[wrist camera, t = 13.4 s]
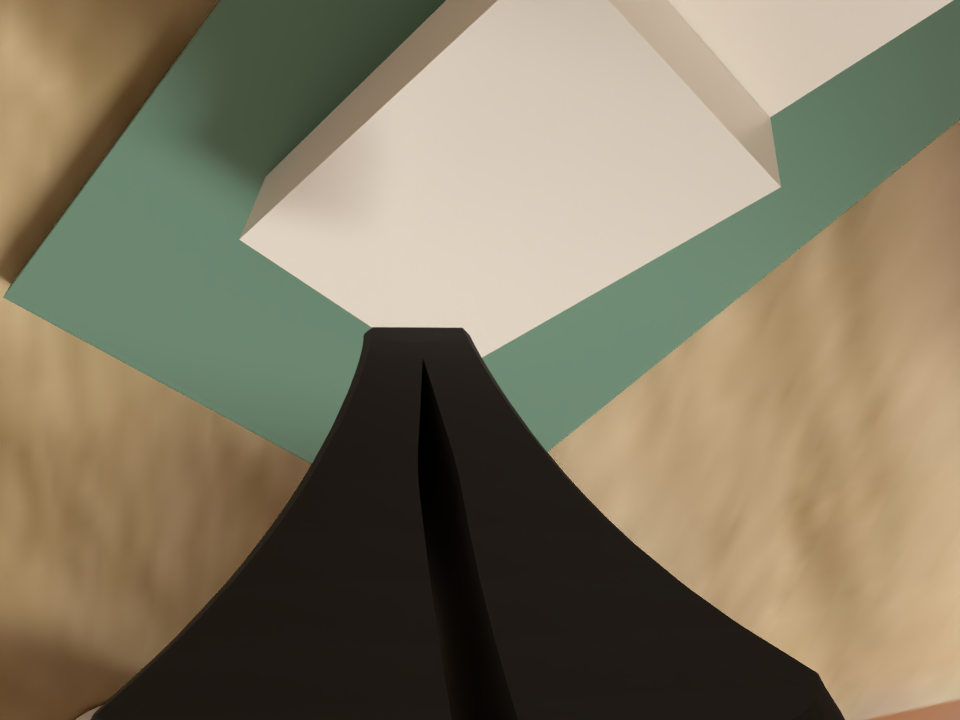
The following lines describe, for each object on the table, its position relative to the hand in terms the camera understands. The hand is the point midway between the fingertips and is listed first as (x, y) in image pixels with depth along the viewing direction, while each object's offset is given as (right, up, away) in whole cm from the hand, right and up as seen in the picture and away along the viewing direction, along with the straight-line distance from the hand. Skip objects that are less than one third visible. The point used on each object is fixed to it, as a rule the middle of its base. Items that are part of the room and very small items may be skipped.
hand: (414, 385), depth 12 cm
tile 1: (-1, +2, +4) cm, 4 cm away
